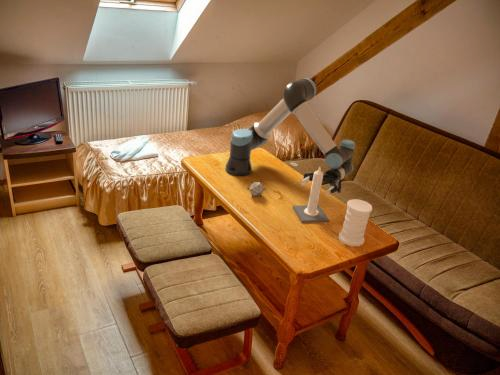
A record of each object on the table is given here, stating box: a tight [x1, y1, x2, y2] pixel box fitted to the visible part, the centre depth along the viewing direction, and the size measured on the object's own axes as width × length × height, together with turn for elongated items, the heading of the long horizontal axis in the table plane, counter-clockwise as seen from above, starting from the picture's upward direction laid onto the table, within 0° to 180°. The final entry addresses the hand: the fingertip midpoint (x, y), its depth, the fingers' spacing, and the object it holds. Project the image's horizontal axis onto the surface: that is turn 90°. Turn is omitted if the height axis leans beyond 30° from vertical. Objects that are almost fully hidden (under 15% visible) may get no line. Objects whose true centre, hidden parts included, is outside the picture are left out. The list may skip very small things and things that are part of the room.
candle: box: [304, 166, 324, 216], centre depth 209 cm, size 7×7×25 cm
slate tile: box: [292, 204, 330, 224], centre depth 216 cm, size 14×14×1 cm
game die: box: [247, 180, 266, 198], centre depth 225 cm, size 9×8×10 cm
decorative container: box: [338, 198, 373, 247], centre depth 196 cm, size 12×12×18 cm
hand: (313, 188), depth 207 cm, fingers open, 13 cm apart
